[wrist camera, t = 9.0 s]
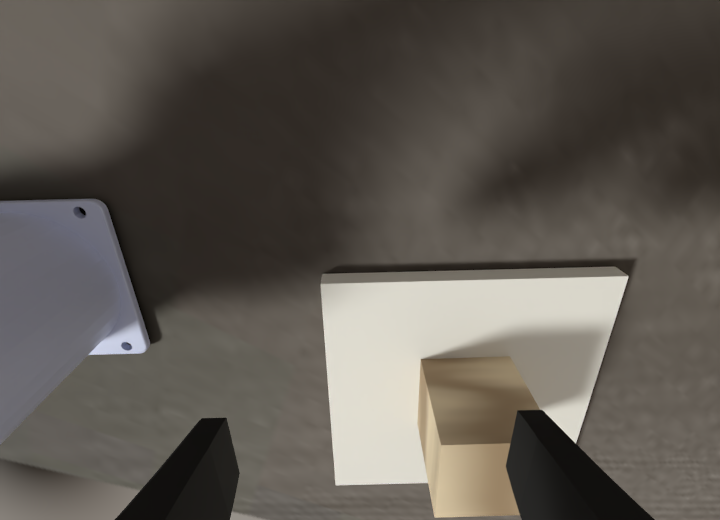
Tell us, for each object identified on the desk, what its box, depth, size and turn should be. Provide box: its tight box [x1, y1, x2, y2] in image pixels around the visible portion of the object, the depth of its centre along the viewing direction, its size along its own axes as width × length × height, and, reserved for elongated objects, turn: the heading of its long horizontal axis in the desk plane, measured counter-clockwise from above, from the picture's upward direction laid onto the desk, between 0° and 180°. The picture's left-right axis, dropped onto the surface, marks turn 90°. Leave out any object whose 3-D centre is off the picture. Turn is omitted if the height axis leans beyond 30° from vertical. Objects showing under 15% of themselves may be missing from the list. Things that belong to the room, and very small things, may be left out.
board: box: [321, 267, 629, 485], centre depth 21 cm, size 14×14×1 cm
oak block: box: [417, 356, 540, 518], centre depth 18 cm, size 4×4×5 cm
